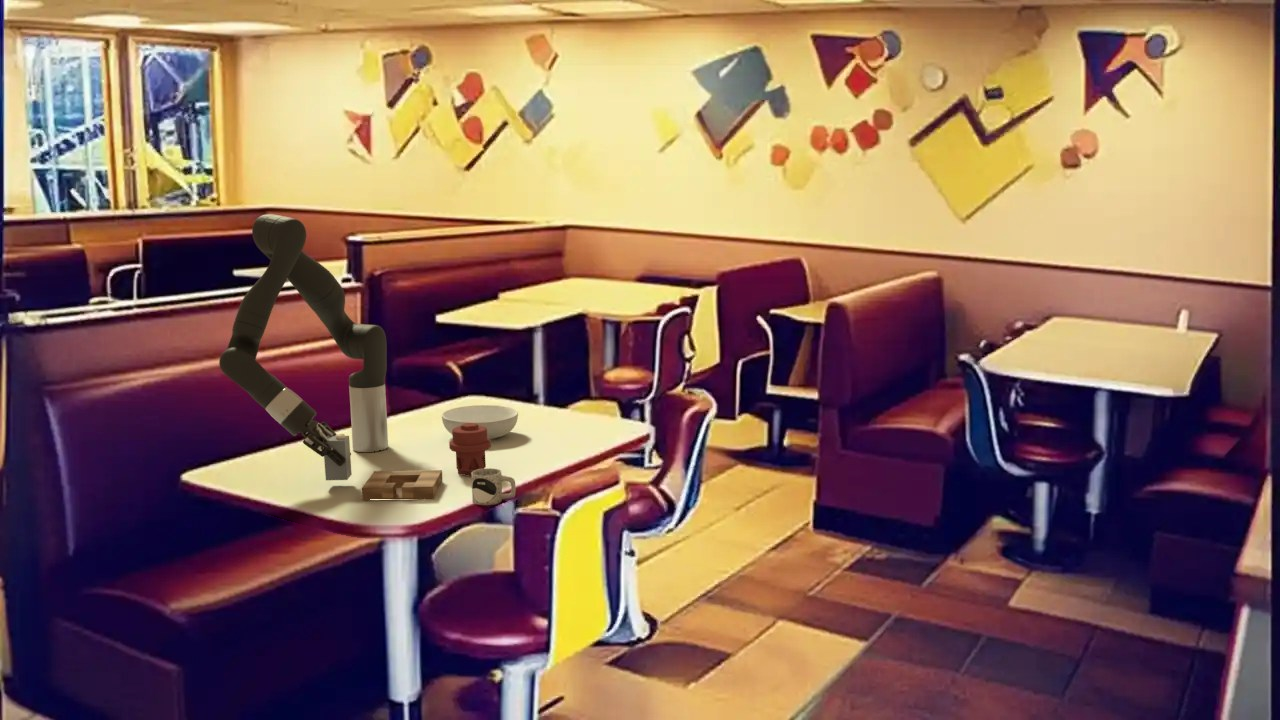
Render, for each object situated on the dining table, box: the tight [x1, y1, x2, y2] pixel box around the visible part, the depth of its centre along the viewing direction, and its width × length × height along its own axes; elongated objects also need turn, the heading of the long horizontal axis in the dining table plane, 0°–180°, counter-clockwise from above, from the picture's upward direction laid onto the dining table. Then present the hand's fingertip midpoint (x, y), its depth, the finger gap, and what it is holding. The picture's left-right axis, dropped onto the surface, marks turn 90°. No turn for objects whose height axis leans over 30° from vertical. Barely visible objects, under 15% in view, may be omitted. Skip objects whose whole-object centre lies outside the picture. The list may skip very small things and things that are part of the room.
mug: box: [471, 467, 517, 506], centre depth 262 cm, size 10×7×7 cm, turn 80°
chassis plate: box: [361, 469, 443, 501], centre depth 271 cm, size 14×16×3 cm
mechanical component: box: [448, 423, 492, 478], centre depth 284 cm, size 12×10×10 cm
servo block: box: [323, 433, 352, 481], centre depth 275 cm, size 4×5×10 cm
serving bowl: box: [441, 404, 519, 440], centre depth 322 cm, size 21×21×7 cm
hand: (345, 460), depth 275 cm, fingers closed on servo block, 4 cm apart
